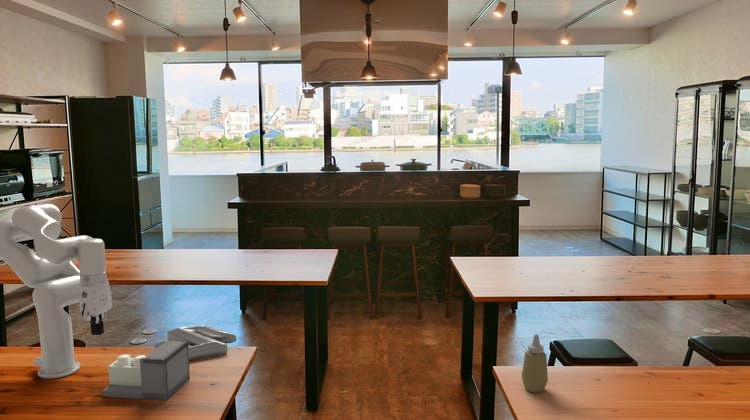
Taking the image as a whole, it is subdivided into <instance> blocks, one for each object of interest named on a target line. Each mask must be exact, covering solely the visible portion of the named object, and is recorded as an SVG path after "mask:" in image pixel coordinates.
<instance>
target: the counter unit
mask: <svg viewBox="0 0 750 420" xmlns="http://www.w3.org/2000/svg"><path fill="white" fill-rule="evenodd" d="M162 342H163V344H162V345H161V346H159V347H158V348H157V349H155V348H154V350H152V351H150V353H149V354H147V355H145V356H146V357H141V358H140V370H141V385H142V386H129V385H113V384H109V385H107V386H106V387H105V388H104V389H102V397H105V398H107V397H109V398H123V399H135V400H136V399H137V400H153V401H168V400H169V399H170V398H172V396H173V395H174V394H175V393H176V392H178V391H179V390H180V389H181V388H182V387H183V386H184V385H185V384H186V383H187V382H188V381H189V380H190V379H191V377H190V376H191V375H190V360H189V353H188V341H174V340H168V339H164V340H163V341H162Z"/></svg>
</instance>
